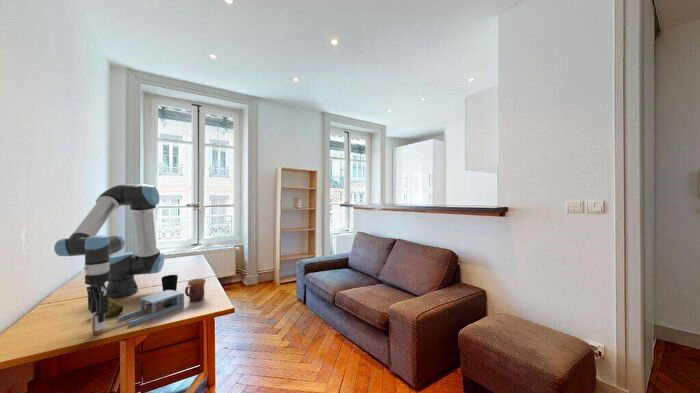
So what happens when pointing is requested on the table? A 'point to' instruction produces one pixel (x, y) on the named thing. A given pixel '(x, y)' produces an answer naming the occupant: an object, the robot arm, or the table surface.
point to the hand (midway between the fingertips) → (97, 328)
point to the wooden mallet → (148, 311)
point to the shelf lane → (168, 295)
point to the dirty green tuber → (113, 308)
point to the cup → (169, 282)
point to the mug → (195, 289)
